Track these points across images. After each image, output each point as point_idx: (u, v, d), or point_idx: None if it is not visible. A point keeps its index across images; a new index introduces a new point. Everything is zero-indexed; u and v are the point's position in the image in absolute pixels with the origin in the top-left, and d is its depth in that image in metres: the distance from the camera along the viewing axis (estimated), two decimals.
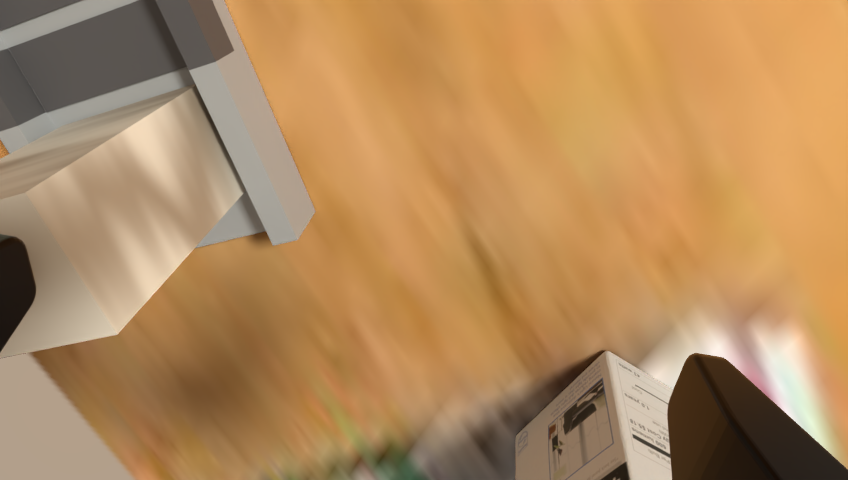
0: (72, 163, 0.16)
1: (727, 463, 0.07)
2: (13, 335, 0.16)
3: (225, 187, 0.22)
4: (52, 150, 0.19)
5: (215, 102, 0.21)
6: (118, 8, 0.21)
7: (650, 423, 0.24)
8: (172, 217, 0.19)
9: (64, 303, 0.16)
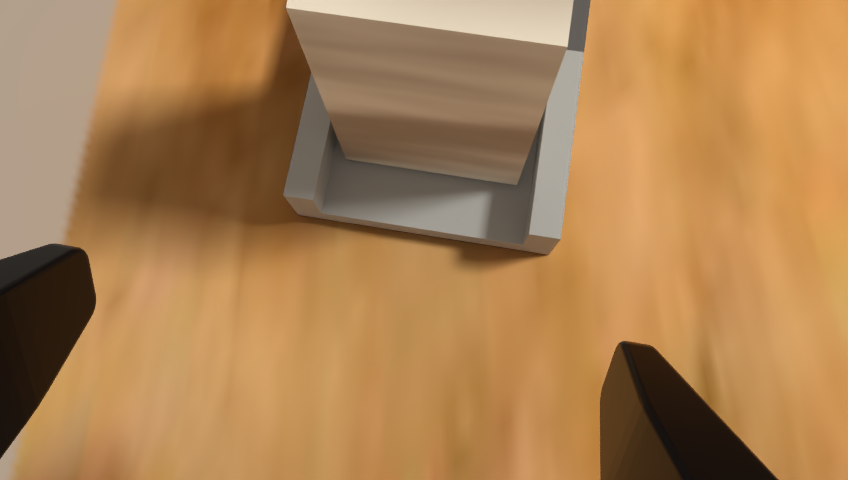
0: None
1: (640, 447, 0.07)
2: (434, 3, 0.14)
3: None
4: None
5: (561, 80, 0.22)
6: None
7: None
8: None
9: None
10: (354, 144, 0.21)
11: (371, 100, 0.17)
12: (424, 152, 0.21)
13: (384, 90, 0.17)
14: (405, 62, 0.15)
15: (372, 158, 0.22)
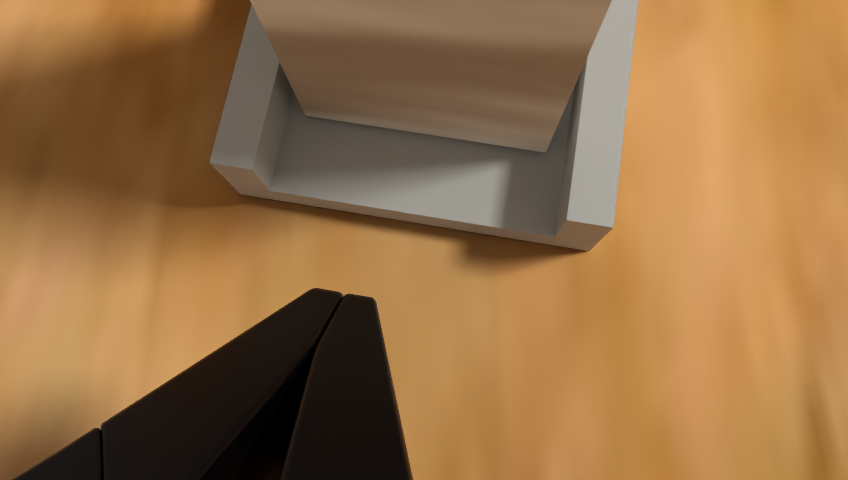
0: None
1: None
2: None
3: None
4: None
5: None
6: None
7: None
8: None
9: None
10: (313, 90, 0.14)
11: (326, 2, 0.11)
12: (414, 100, 0.14)
13: None
14: None
15: (341, 113, 0.15)
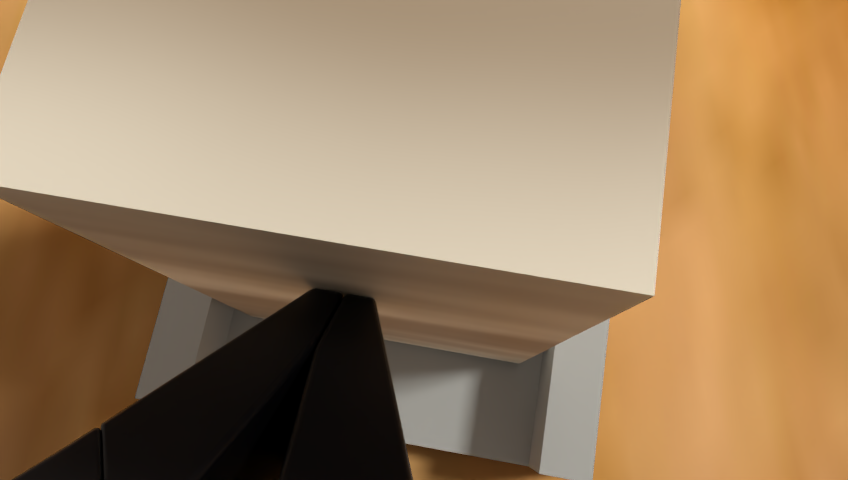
0: None
1: None
2: (322, 173, 0.06)
3: None
4: None
5: None
6: None
7: None
8: None
9: (565, 149, 0.06)
10: (253, 310, 0.13)
11: (249, 287, 0.09)
12: None
13: (265, 283, 0.09)
14: (283, 266, 0.07)
15: None
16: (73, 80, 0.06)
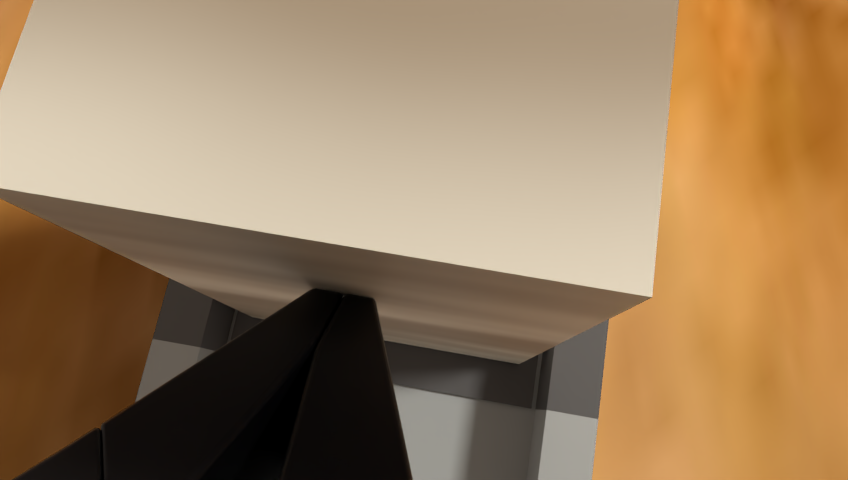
0: None
1: None
2: (323, 176, 0.06)
3: None
4: None
5: (557, 476, 0.12)
6: None
7: None
8: None
9: (563, 154, 0.06)
10: (255, 311, 0.13)
11: (251, 288, 0.09)
12: None
13: (266, 285, 0.09)
14: (284, 267, 0.07)
15: None
16: (77, 84, 0.06)
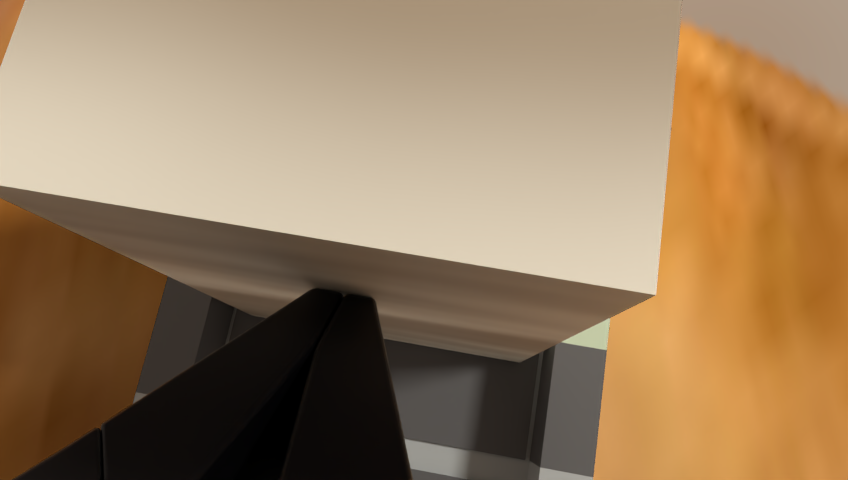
0: None
1: None
2: (322, 172, 0.06)
3: None
4: None
5: None
6: (419, 471, 0.14)
7: None
8: None
9: (566, 149, 0.06)
10: (254, 309, 0.13)
11: (249, 286, 0.09)
12: None
13: (265, 282, 0.09)
14: (283, 265, 0.07)
15: None
16: (71, 79, 0.06)
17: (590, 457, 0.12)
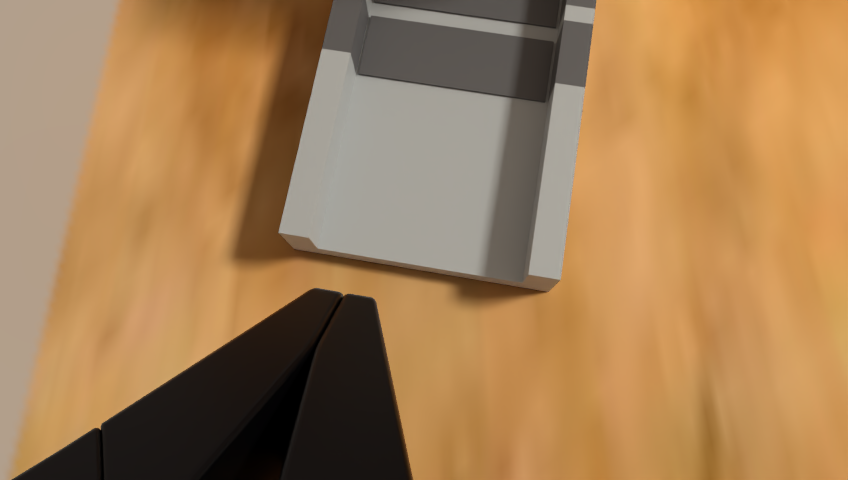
0: None
1: None
2: None
3: None
4: None
5: (561, 116, 0.21)
6: (495, 35, 0.24)
7: None
8: None
9: None
10: None
11: None
12: None
13: None
14: None
15: None
16: None
17: (593, 0, 0.22)
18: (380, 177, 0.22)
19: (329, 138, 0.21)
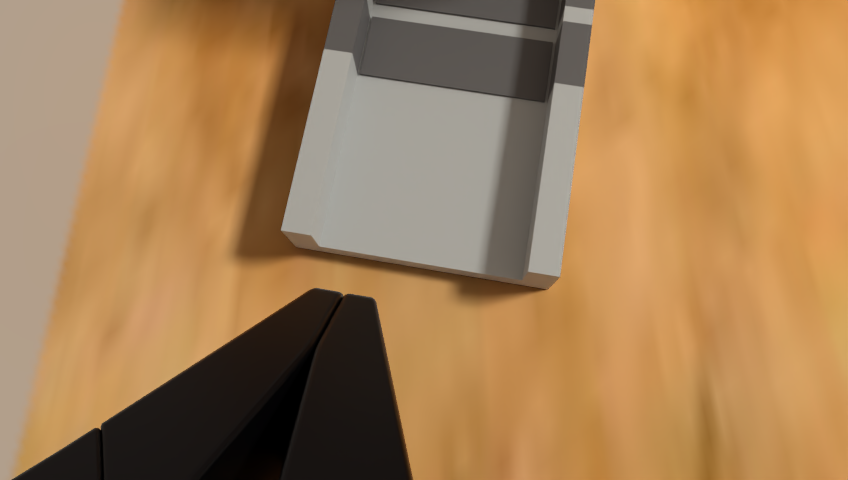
0: None
1: None
2: None
3: None
4: None
5: (561, 116, 0.21)
6: (494, 36, 0.24)
7: None
8: None
9: None
10: None
11: None
12: None
13: None
14: None
15: None
16: None
17: (592, 1, 0.23)
18: (381, 176, 0.23)
19: (331, 137, 0.21)
